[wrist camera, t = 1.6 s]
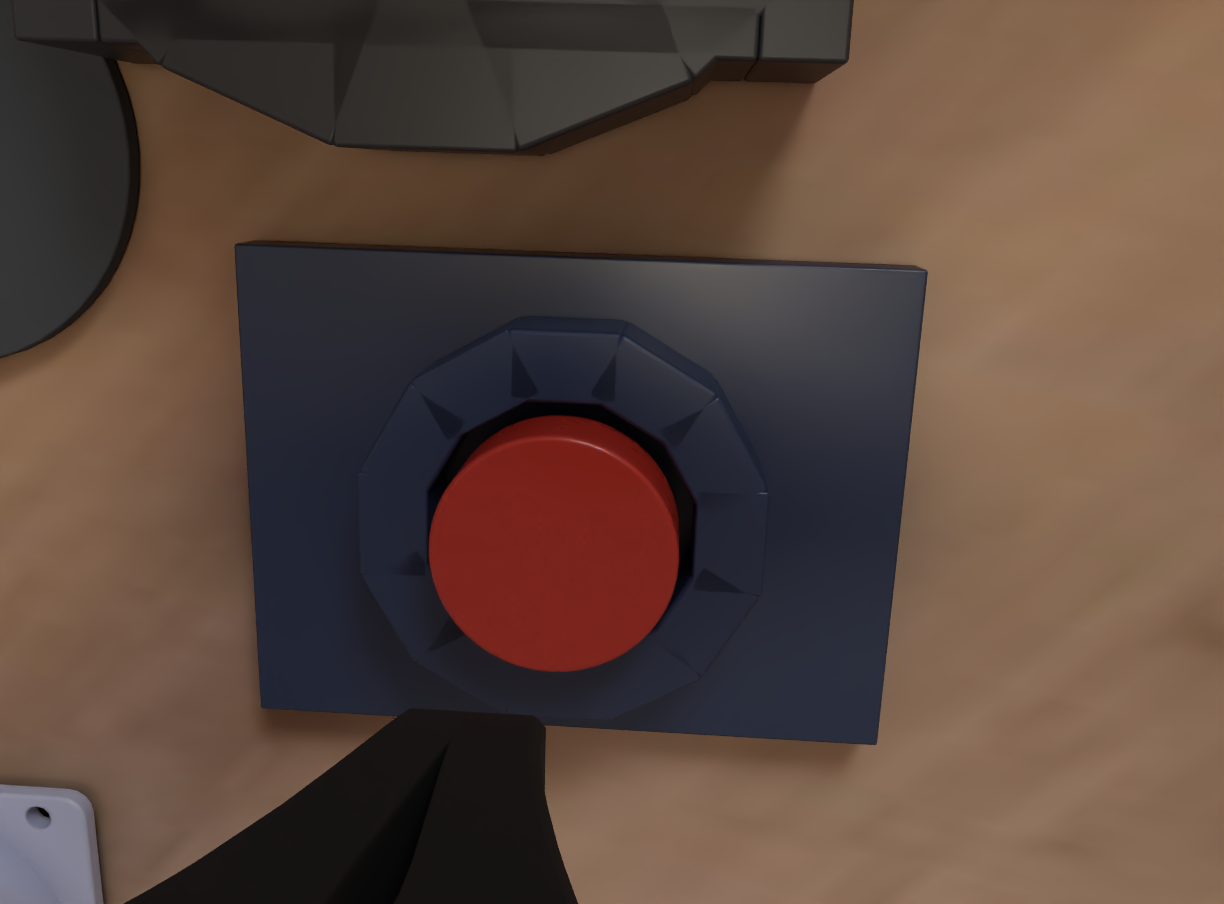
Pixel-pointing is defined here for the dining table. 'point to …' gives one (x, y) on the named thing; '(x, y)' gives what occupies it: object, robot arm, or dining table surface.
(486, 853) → the robot arm
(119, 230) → the coaster
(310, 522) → the control block
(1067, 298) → the dining table surface
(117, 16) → the cup holder
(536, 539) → the release button
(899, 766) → the dining table surface
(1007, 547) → the dining table surface
